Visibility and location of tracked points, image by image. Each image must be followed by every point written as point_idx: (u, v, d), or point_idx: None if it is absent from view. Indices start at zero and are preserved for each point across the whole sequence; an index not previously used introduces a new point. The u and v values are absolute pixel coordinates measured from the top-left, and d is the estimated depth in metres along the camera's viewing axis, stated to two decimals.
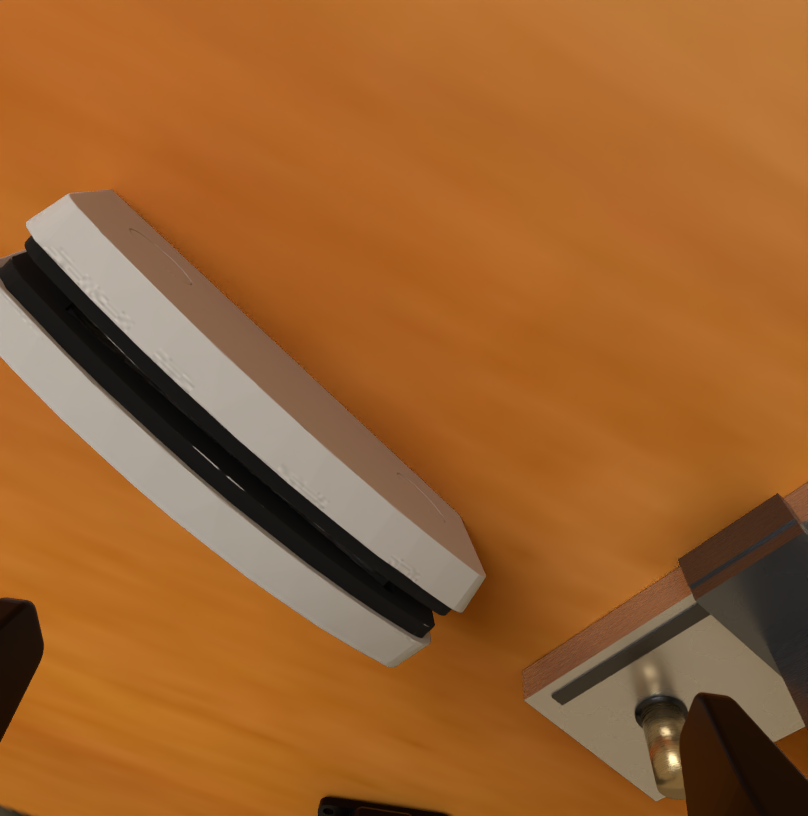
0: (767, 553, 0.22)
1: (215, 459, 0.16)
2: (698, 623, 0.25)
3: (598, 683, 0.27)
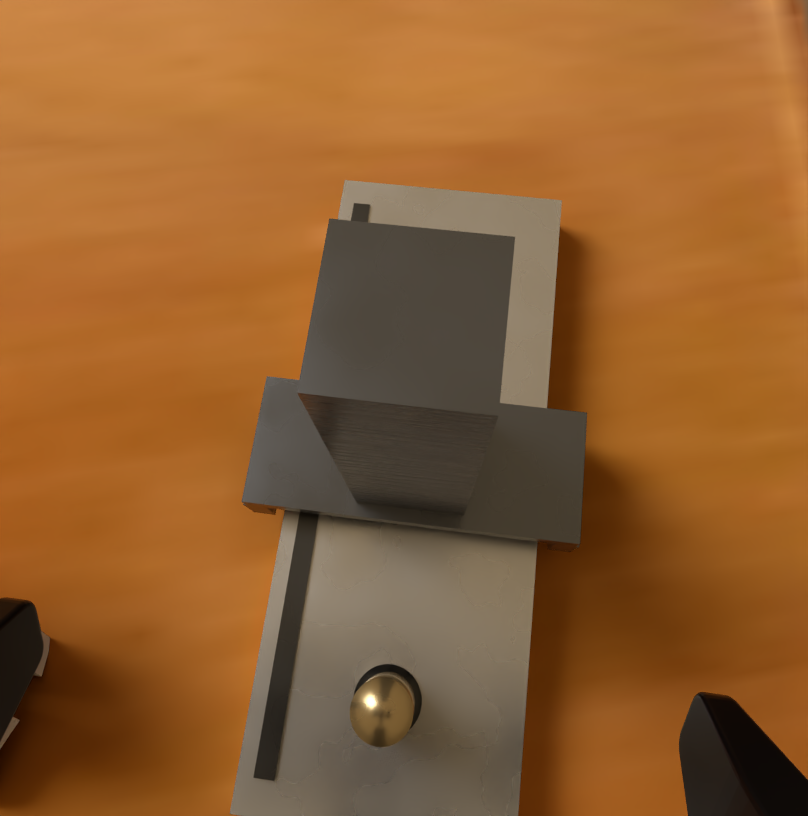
0: (261, 415, 0.22)
1: None
2: (317, 554, 0.22)
3: (289, 712, 0.20)
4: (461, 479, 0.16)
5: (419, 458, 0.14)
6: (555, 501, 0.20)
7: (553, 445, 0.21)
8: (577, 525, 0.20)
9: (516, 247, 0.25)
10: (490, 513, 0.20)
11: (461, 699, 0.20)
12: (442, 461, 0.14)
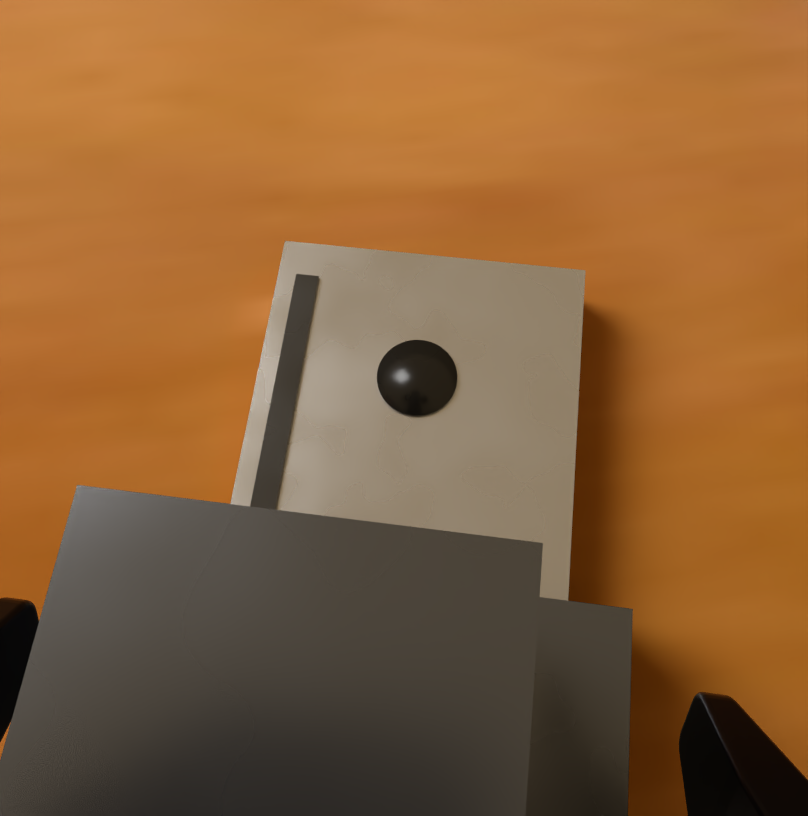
0: None
1: None
2: None
3: None
4: None
5: None
6: (587, 758, 0.13)
7: (582, 662, 0.14)
8: (622, 801, 0.13)
9: (523, 338, 0.18)
10: None
11: None
12: None
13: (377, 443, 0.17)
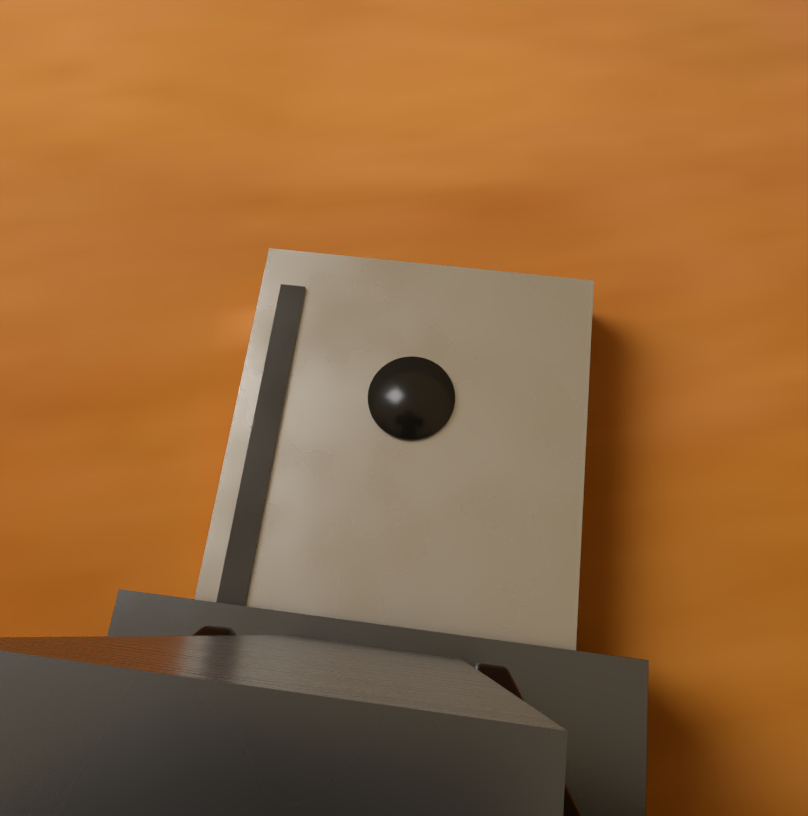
0: None
1: None
2: None
3: None
4: None
5: None
6: None
7: (593, 721, 0.12)
8: None
9: (527, 355, 0.16)
10: None
11: None
12: None
13: (367, 470, 0.15)
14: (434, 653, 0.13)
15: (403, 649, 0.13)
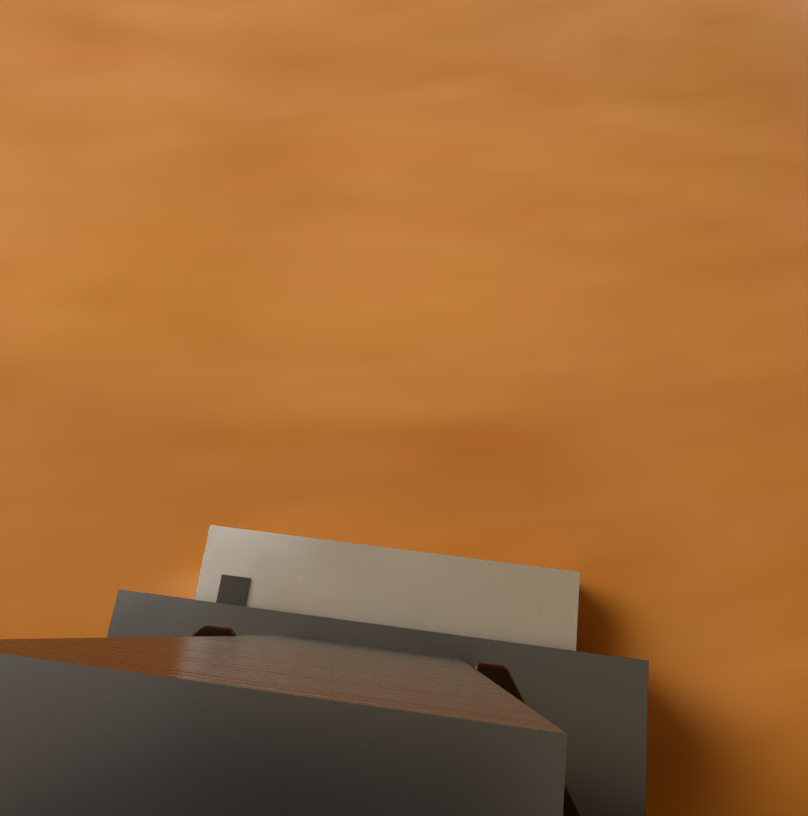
0: None
1: None
2: None
3: None
4: None
5: None
6: None
7: (593, 721, 0.12)
8: None
9: None
10: None
11: None
12: None
13: None
14: (434, 653, 0.13)
15: (403, 649, 0.13)
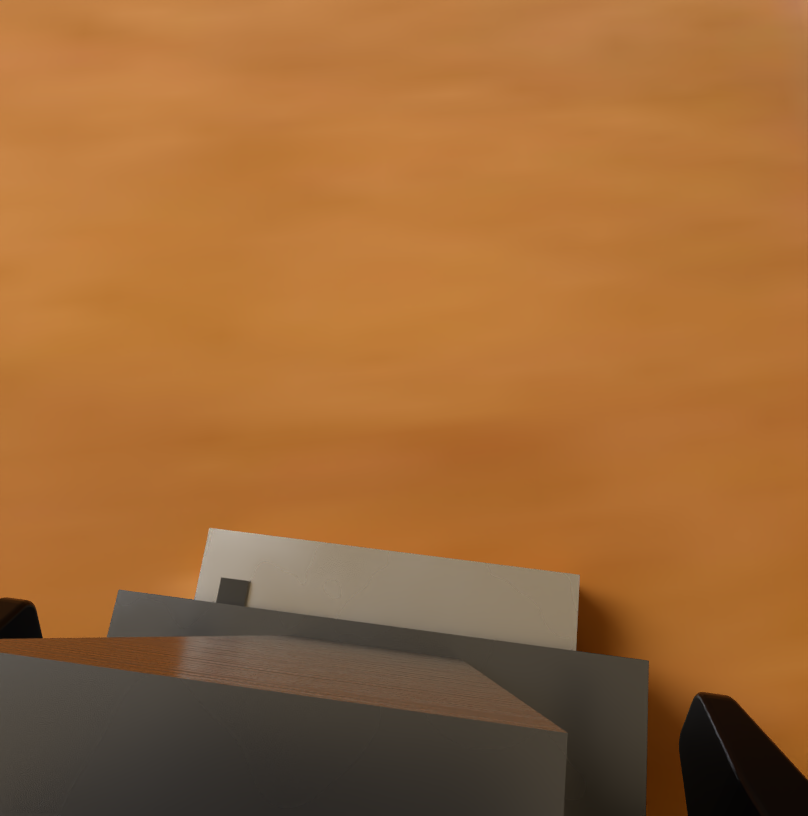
0: None
1: None
2: None
3: None
4: None
5: None
6: None
7: (593, 721, 0.12)
8: None
9: None
10: None
11: None
12: None
13: None
14: (434, 653, 0.13)
15: (403, 649, 0.13)
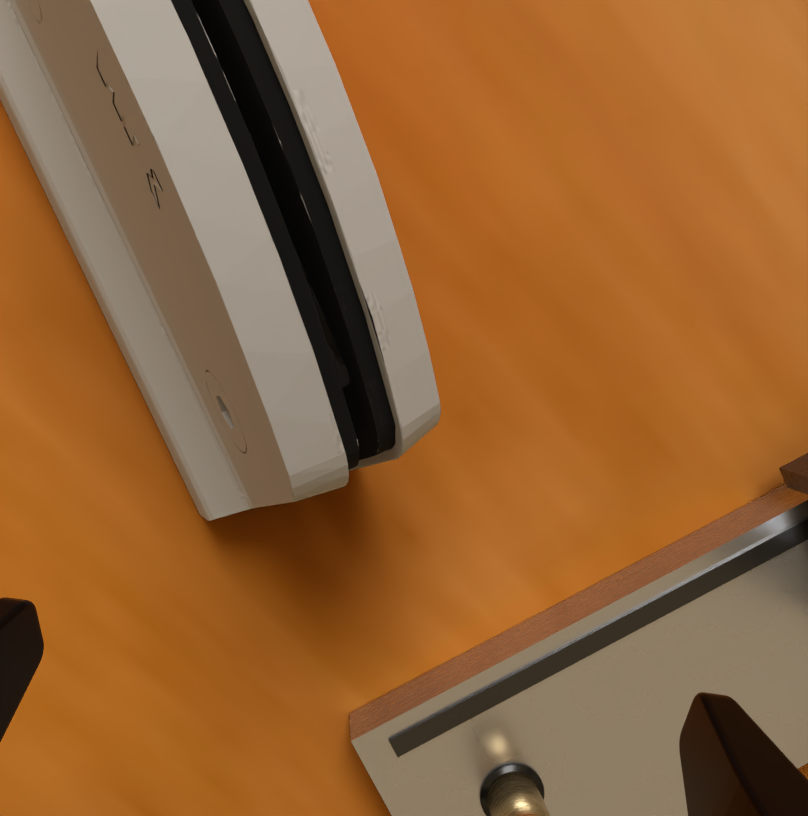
0: None
1: None
2: (587, 659, 0.21)
3: (452, 730, 0.21)
4: None
5: None
6: None
7: None
8: None
9: None
10: None
11: None
12: None
13: None
14: None
15: None
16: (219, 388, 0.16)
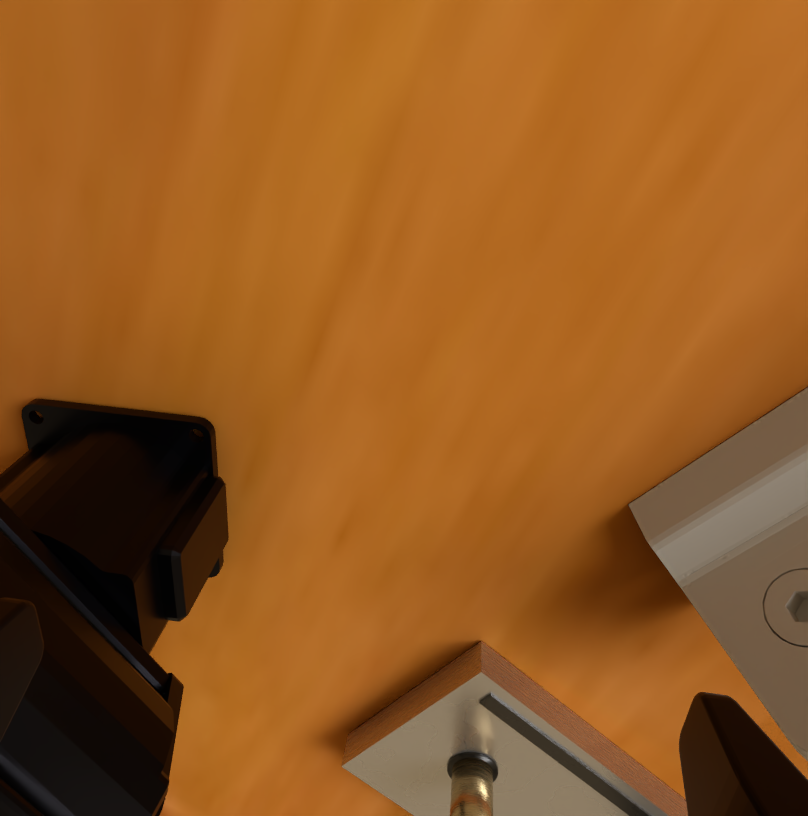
0: None
1: None
2: (592, 790, 0.27)
3: (511, 727, 0.26)
4: None
5: None
6: None
7: None
8: None
9: None
10: None
11: (441, 794, 0.28)
12: None
13: None
14: None
15: None
16: None
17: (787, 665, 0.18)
